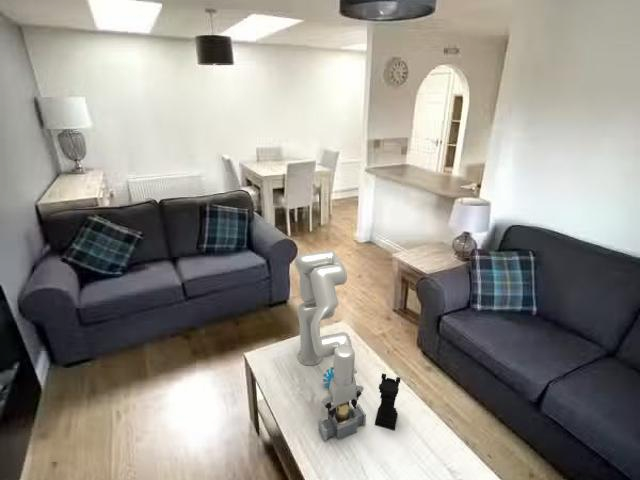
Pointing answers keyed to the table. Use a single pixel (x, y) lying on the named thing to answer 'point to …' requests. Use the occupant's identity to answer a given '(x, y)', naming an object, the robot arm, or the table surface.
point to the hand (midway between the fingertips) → (342, 410)
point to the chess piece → (387, 403)
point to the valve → (342, 424)
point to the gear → (329, 377)
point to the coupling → (342, 411)
